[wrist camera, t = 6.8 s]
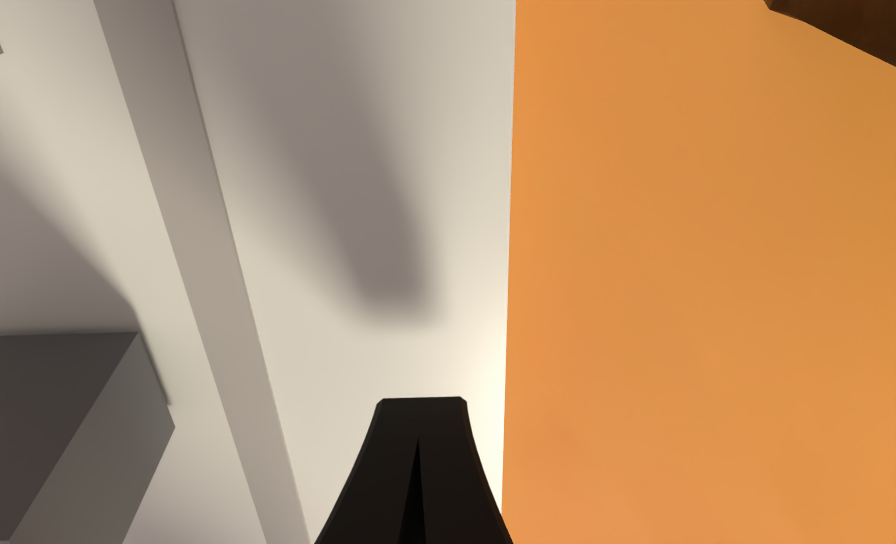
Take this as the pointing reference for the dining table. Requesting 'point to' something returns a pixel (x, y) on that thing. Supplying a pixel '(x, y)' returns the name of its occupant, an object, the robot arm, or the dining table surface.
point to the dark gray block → (77, 436)
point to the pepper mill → (849, 22)
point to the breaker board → (265, 228)
